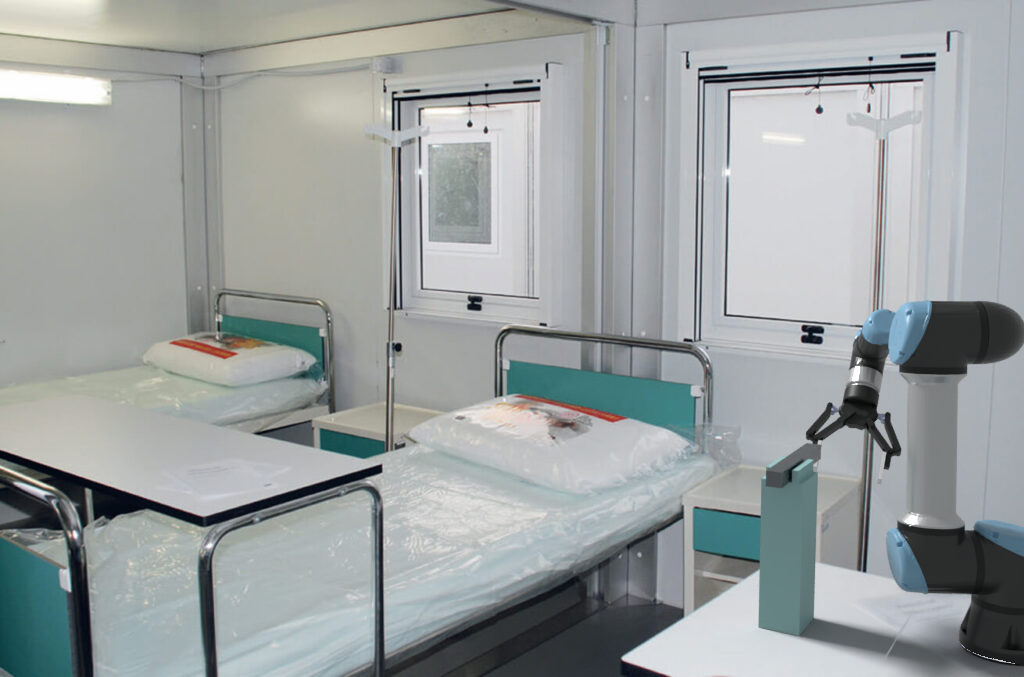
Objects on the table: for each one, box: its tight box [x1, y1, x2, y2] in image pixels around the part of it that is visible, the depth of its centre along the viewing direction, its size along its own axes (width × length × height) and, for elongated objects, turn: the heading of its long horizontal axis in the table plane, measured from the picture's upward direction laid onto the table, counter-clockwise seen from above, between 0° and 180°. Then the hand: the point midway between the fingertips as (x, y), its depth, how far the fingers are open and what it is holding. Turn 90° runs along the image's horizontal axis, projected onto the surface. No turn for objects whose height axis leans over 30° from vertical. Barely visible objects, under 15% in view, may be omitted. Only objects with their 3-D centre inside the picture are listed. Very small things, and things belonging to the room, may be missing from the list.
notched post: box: [757, 455, 819, 637], centre depth 195 cm, size 10×8×32 cm
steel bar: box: [765, 442, 822, 488], centre depth 196 cm, size 26×3×3 cm, turn 147°
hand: (846, 475), depth 217 cm, fingers open, 13 cm apart
